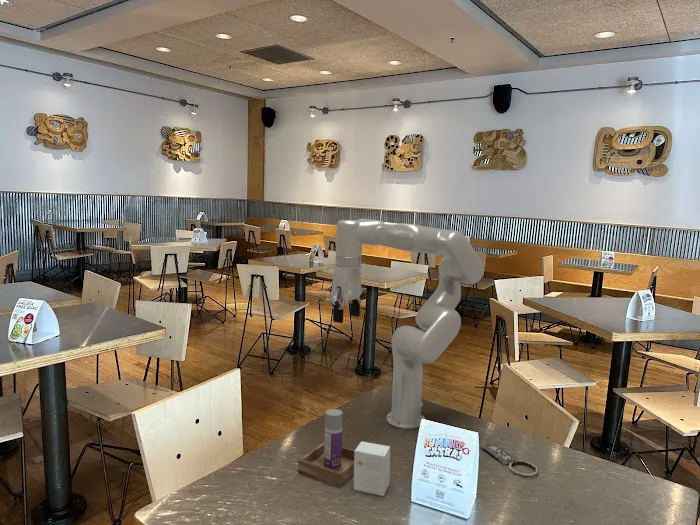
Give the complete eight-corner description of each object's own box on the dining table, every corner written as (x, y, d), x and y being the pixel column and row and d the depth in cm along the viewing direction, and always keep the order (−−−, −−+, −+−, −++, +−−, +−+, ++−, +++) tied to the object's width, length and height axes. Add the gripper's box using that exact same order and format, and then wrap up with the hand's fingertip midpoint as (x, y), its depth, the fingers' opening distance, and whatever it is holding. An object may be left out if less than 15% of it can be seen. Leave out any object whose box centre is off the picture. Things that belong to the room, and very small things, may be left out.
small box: (389, 485, 132) (391, 446, 131) (383, 497, 127) (385, 456, 126) (359, 478, 135) (361, 440, 133) (352, 490, 130) (354, 450, 128)
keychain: (497, 445, 157) (498, 438, 157) (544, 477, 139) (544, 470, 139) (476, 449, 154) (476, 443, 153) (521, 482, 136) (522, 475, 136)
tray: (324, 452, 148) (325, 440, 148) (365, 465, 142) (365, 453, 141) (298, 472, 137) (298, 460, 136) (340, 487, 130) (340, 474, 130)
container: (342, 462, 141) (343, 409, 140) (340, 470, 137) (341, 416, 135) (325, 460, 142) (326, 408, 140) (322, 469, 137) (323, 415, 135)
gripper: (351, 258, 162) (350, 312, 164) (321, 263, 147) (320, 322, 149) (373, 260, 158) (371, 315, 161) (344, 266, 144) (342, 326, 146)
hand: (346, 319), depth 155 cm, fingers open, 9 cm apart
